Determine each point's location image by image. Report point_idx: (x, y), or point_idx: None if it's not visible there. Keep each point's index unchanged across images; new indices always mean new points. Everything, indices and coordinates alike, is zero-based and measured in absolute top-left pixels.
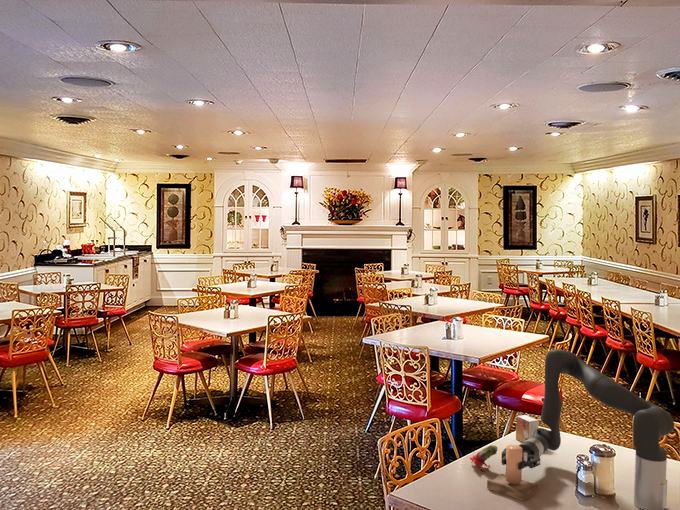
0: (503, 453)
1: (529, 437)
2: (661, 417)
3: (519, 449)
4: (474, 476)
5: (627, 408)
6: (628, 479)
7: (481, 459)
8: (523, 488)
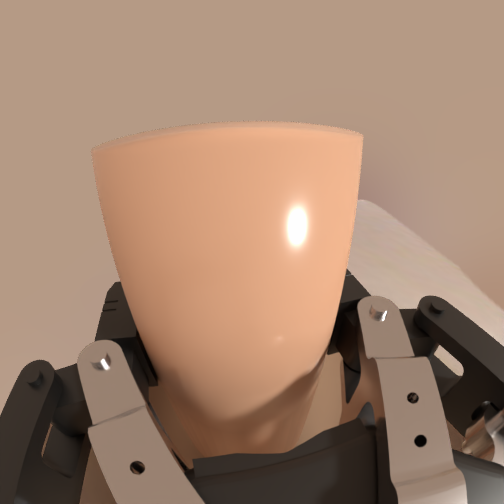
0: (429, 305)
1: None
2: None
3: (129, 137)
4: (440, 360)
5: None
6: None
7: None
8: (165, 425)
